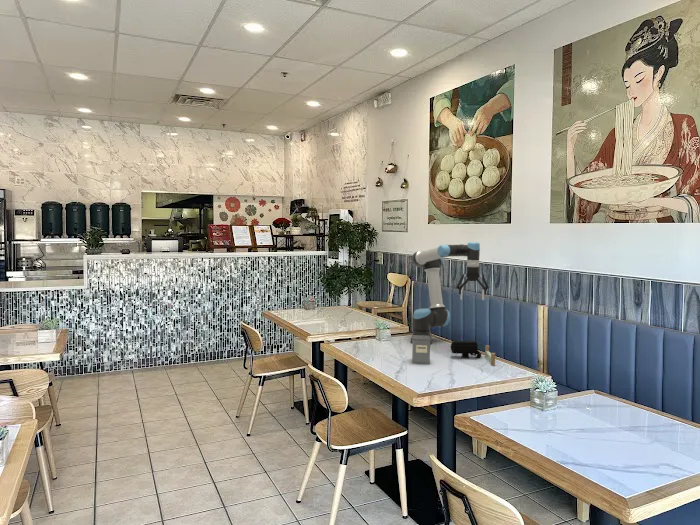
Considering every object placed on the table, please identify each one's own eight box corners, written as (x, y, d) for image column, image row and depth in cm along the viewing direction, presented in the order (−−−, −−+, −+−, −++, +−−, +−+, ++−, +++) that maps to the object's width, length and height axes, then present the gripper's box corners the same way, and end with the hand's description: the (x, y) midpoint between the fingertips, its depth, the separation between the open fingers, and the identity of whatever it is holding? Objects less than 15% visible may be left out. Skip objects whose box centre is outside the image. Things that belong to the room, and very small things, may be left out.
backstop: (485, 356, 328) (485, 345, 328) (488, 356, 328) (488, 345, 327) (491, 365, 307) (491, 353, 307) (494, 365, 307) (495, 353, 307)
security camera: (482, 359, 321) (482, 343, 320) (452, 358, 321) (452, 342, 321) (479, 356, 328) (480, 340, 327) (450, 356, 328) (450, 340, 328)
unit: (411, 358, 320) (411, 335, 319) (429, 359, 319) (429, 335, 318) (412, 363, 309) (412, 339, 308) (430, 364, 308) (431, 339, 307)
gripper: (453, 266, 329) (452, 299, 331) (494, 267, 327) (493, 300, 329) (452, 265, 337) (451, 298, 338) (491, 266, 335) (490, 299, 336)
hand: (472, 299), depth 334 cm, fingers open, 13 cm apart
